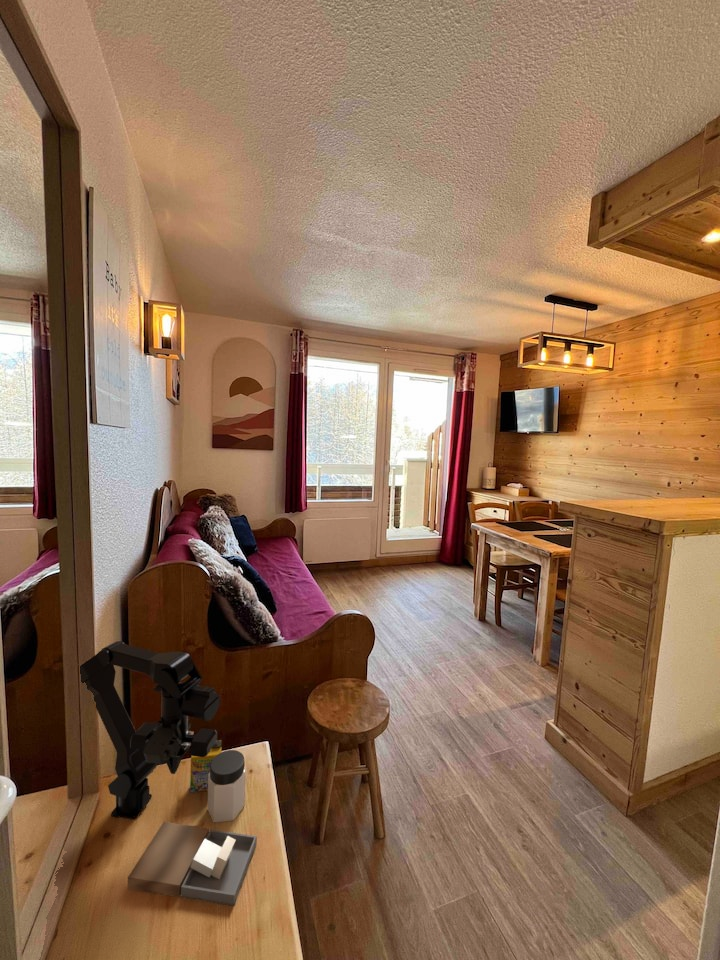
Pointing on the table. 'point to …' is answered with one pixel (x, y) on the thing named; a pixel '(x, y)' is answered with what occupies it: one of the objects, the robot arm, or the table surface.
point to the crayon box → (202, 768)
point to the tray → (232, 875)
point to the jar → (226, 786)
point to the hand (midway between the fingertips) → (173, 772)
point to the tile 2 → (223, 857)
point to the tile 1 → (206, 858)
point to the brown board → (167, 859)
